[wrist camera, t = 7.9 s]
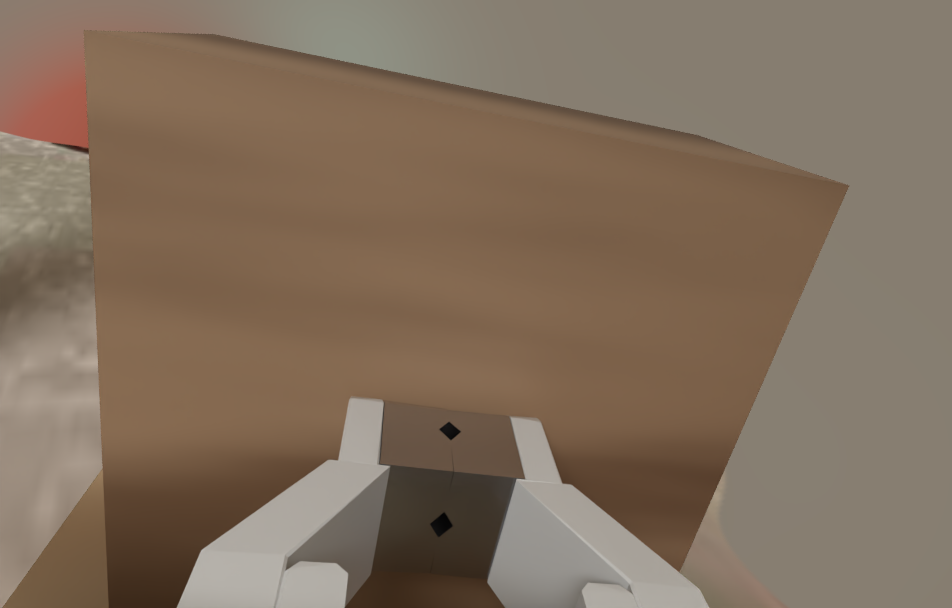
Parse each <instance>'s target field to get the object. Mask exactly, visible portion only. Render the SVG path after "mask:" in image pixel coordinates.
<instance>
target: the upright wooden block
mask: <svg viewBox="0 0 952 608" xmlns="http://www.w3.org/2000/svg"><path fill="white" fill-rule="evenodd" d="M84 47H85V70H86V93H87V117H88V141H89V164H90V187H91V210H92V233H93V256H94V279H95V302H96V325H97V349H98V372H99V395H100V418H101V441H102V464H103V487H104V510H105V533H106V556H107V579H108V602H109V608H177V606H178V604H179V601H180V599H181V597H182V594H183V592H184V590H185V587H186V585H187V583H188V580H189V578H190V575H191V573H192V571H193V568H194V566H195V564H196V561H197V559H198V557H199V554H200V552H201V550H202V549H204V548H205V547H206V546H208V545H209V544H211V543H212V542H213V541H215V540H216V539H218V538H219V537H220V536H222V535H223V534H225V533H226V532H228V531H229V530H230V529H232V528H233V527H235V526H236V525H237V524H239V523H240V522H242V521H243V520H244V519H246V518H247V517H249V516H250V515H251V514H253V513H254V512H256V511H257V510H258V509H260V508H261V507H263V506H264V505H265V504H267V503H268V502H270V501H271V500H272V499H274V498H275V497H277V496H278V495H279V494H281V493H282V492H284V491H285V490H286V489H288V488H289V487H291V486H292V485H293V484H295V483H296V482H298V481H299V480H300V479H302V478H303V477H305V476H306V475H308V474H309V473H310V472H312V471H313V470H315V469H316V468H317V467H319V466H320V465H322V464H323V463H324V462H326V461H327V460H338V459H339V453H340V448H341V442H342V436H343V431H344V425H345V420H346V414H347V409H348V403H349V399H350V397H351V396H355V397H364V398H373V399H382V400H383V402H384V400H387V401H394V402H401V403H408V404H415V405H423V406H430V407H437V408H444V409H447V410H453V411H463V412H474V413H485V414H495V415H506V416H507V415H508V416H520V417H532V418H538V419H539V420H540V421H541V423H542V426H543V429H544V432H545V435H546V437H547V440H548V443H549V446H550V449H551V452H552V455H553V458H554V461H555V463H556V466H557V469H558V472H559V475H560V478H561V481H562V484H570V485H573V486H574V487H575V488H576V489H578V490H579V491H580V492H581V493H582V494H584V495H585V496H586V497H587V498H589V499H590V500H591V501H592V502H593V503H595V504H596V505H597V506H598V507H600V508H601V509H602V510H603V511H604V512H606V513H607V514H608V515H609V516H611V517H612V518H613V519H614V520H616V521H617V522H618V523H619V524H620V525H622V526H623V527H624V528H625V529H627V530H628V531H629V532H630V533H631V534H633V535H634V536H635V537H636V538H638V539H639V540H640V541H641V542H642V543H644V544H645V545H646V546H647V547H649V548H650V549H651V550H652V551H654V552H655V553H656V554H657V555H658V556H660V557H661V558H662V559H663V560H665V561H666V562H667V563H668V564H669V565H671V566H672V567H673V568H674V569H676V570H677V571H678V572H680V570H681V567H682V565H683V563H684V560H685V558H686V556H687V554H688V551H689V549H690V547H691V544H692V542H693V540H694V538H695V535H696V533H697V531H698V529H699V526H700V524H701V522H702V519H703V517H704V515H705V513H706V510H707V508H708V506H709V504H710V501H711V499H712V497H713V494H714V492H715V490H716V488H717V485H718V483H719V481H720V479H721V476H722V474H723V472H724V469H725V467H726V465H727V463H728V460H729V458H730V456H731V453H732V451H733V449H734V447H735V444H736V442H737V440H738V437H739V435H740V433H741V430H742V428H743V426H744V424H745V422H746V419H747V417H748V415H749V413H750V410H751V408H752V406H753V403H754V401H755V399H756V397H757V394H758V392H759V390H760V387H761V385H762V383H763V381H764V378H765V376H766V374H767V371H768V369H769V367H770V365H771V363H772V360H773V358H774V356H775V353H776V351H777V349H778V347H779V344H780V342H781V340H782V337H783V335H784V333H785V330H786V328H787V326H788V324H789V321H790V319H791V317H792V315H793V312H794V310H795V308H796V306H797V303H798V301H799V299H800V296H801V294H802V292H803V290H804V287H805V285H806V283H807V281H808V278H809V276H810V274H811V272H812V269H813V267H814V264H815V262H816V260H817V258H818V256H819V253H820V251H821V249H822V246H823V244H824V242H825V239H826V237H827V235H828V232H829V231H830V228H831V226H832V224H833V221H834V219H835V217H836V215H837V212H838V210H839V208H840V206H841V203H842V201H843V199H844V196H845V194H846V192H847V190H848V187H849V186H848V185H846V184H843V183H840V182H836V181H834V180H831V179H828V178H824V177H822V176H819V175H815V174H812V173H810V172H807V171H804V170H801V169H797V168H795V167H792V166H788V165H785V164H782V163H779V162H777V161H773V160H770V159H767V158H764V157H761V156H758V155H755V154H752V153H749V152H746V151H743V150H740V149H737V148H734V147H731V146H728V145H725V144H722V143H719V142H716V141H713V140H710V139H707V138H704V137H701V136H697V135H694V134H689V133H684V132H680V131H675V130H670V129H665V128H660V127H655V126H651V125H646V124H641V123H636V122H632V121H626V120H622V119H617V118H612V117H608V116H603V115H598V114H593V113H588V112H584V111H579V110H574V109H569V108H565V107H560V106H555V105H550V104H545V103H541V102H536V101H531V100H526V99H521V98H517V97H512V96H507V95H502V94H497V93H493V92H488V91H483V90H478V89H473V88H469V87H464V86H459V85H454V84H450V83H445V82H440V81H435V80H430V79H425V78H421V77H416V76H411V75H407V74H401V73H397V72H391V71H387V70H383V69H377V68H373V67H368V66H363V65H358V64H354V63H348V62H344V61H340V60H335V59H330V58H325V57H320V56H316V55H310V54H306V53H301V52H296V51H292V50H287V49H282V48H277V47H272V46H267V45H263V44H258V43H252V42H248V41H243V40H239V39H234V38H229V37H225V36H220V35H214V34H183V33H152V32H122V31H91V30H90V31H88V30H84ZM487 581H488V580H487V579H477V578H467V577H458V576H448V575H438V574H428V573H405V572H383V571H371V575H370V576H369V577H368V579H367V580H366V581H365V582H364V584H363V585H362V586H361V587H360V589H359V590H358V591H357V592H356V594H355V595H354V596H353V598H352V599H351V600H350V601H349V603H348V604H347V605H346V606H345V608H505V607H504V605H503V604H502V603H501V601H500V600H499V598H498V597H497V596H496V594H495V593H494V591H493V590H492V588H491V587H490V586H489V584H488V583H487Z"/></svg>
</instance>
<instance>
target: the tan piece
mask: <svg viewBox="0 0 952 608" xmlns="http://www.w3.org/2000/svg"><path fill="white" fill-rule="evenodd" d="M3 608H109V602H108V579H107V556H106V533H105V510H104V487H103V469H102V470H101V471H100V473H99V474H98V475H97V477H96V478H95V480H94V481H93V482H92V484H91V485H90V487H89V488H88V489H87V491H86V492H85V494H84V495H83V496H82V498H81V499H80V501H79V502H78V503H77V505H76V506H75V507H74V509H73V510H72V512H71V513H70V514H69V516H68V517H67V519H66V520H65V521H64V523H63V524H62V526H61V527H60V528H59V530H58V531H57V533H56V534H55V535H54V537H53V538H52V539H51V541H50V542H49V544H48V545H47V546H46V548H45V549H44V551H43V552H42V553H41V555H40V556H39V558H38V559H37V560H36V562H35V563H34V564H33V566H32V567H31V569H30V570H29V571H28V573H27V574H26V576H25V577H24V578H23V580H22V581H21V583H20V584H19V585H18V587H17V588H16V590H15V591H14V592H13V594H12V595H11V596H10V598H9V599H8V601H7V602H6V603H5V605H4V606H3Z"/></svg>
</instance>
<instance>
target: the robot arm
mask: <svg viewBox="0 0 952 608" xmlns="http://www.w3.org/2000/svg"><path fill="white" fill-rule="evenodd" d="M371 571H383V572H405V573H428V574H438V575H448V576H458V577H467V578H477V579H487V580H488V581H487V583H488V584H489V586H490V587H491V588H492V590H493V591H494V593H495V594H496V596H497V597H498V598H499V600H500V601H501V603H502V604H503V605H504V607H505V608H709V606H708V604H707V602H706V600H705V598H704V596H703V595H702V593H701V591H700V589H699V588H698V587H696V586H695V585H694V584H693V583H692V582H690V581H689V580H688V579H687V578H685V577H684V576H683V575H682V574H681V573H679V572H678V571H677V570H676V569H674V568H673V567H672V566H671V565H669V564H668V563H667V562H666V561H665V560H663V559H662V558H661V557H660V556H658V555H657V554H656V553H655V552H654V551H652V550H651V549H650V548H649V547H647V546H646V545H645V544H644V543H642V542H641V541H640V540H639V539H638V538H636V537H635V536H634V535H633V534H631V533H630V532H629V531H628V530H627V529H625V528H624V527H623V526H622V525H620V524H619V523H618V522H617V521H616V520H614V519H613V518H612V517H611V516H609V515H608V514H607V513H606V512H604V511H603V510H602V509H601V508H600V507H598V506H597V505H596V504H595V503H593V502H592V501H591V500H590V499H589V498H587V497H586V496H585V495H584V494H582V493H581V492H580V491H579V490H578V489H576V488H575V487H574V486H573V485H570V484H562V481H561V478H560V475H559V472H558V469H557V466H556V463H555V461H554V458H553V455H552V452H551V449H550V446H549V443H548V440H547V437H546V435H545V432H544V429H543V426H542V423H541V421H540V420H539V419H538V418H532V417H520V416H508V415H507V416H506V415H495V414H485V413H474V412H463V411H453V410H447V409H444V408H437V407H430V406H423V405H415V404H408V403H401V402H394V401H387V400H384V402H383V400H382V399H373V398H364V397H355V396H351V397H350V399H349V403H348V409H347V414H346V420H345V425H344V431H343V436H342V442H341V448H340V453H339V459H338V460H327V461H326V462H324V463H323V464H322V465H320V466H319V467H317V468H316V469H315V470H313V471H312V472H310V473H309V474H308V475H306V476H305V477H303V478H302V479H300V480H299V481H298V482H296V483H295V484H293V485H292V486H291V487H289V488H288V489H286V490H285V491H284V492H282V493H281V494H279V495H278V496H277V497H275V498H274V499H272V500H271V501H270V502H268V503H267V504H265V505H264V506H263V507H261V508H260V509H258V510H257V511H256V512H254V513H253V514H251V515H250V516H249V517H247V518H246V519H244V520H243V521H242V522H240V523H239V524H237V525H236V526H235V527H233V528H232V529H230V530H229V531H228V532H226V533H225V534H223V535H222V536H220V537H219V538H218V539H216V540H215V541H213V542H212V543H211V544H209V545H208V546H206V547H205V548H204V549H202V550H201V552H200V554H199V557H198V559H197V561H196V564H195V566H194V568H193V571H192V573H191V575H190V578H189V580H188V583H187V585H186V587H185V590H184V592H183V594H182V597H181V599H180V601H179V604H178V606H177V608H345V606H346V605H347V604H348V603H349V601H350V600H351V599H352V598H353V596H354V595H355V594H356V592H357V591H358V590H359V589H360V587H361V586H362V585H363V584H364V582H365V581H366V580H367V579H368V577H369V576H370V575H371Z"/></svg>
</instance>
